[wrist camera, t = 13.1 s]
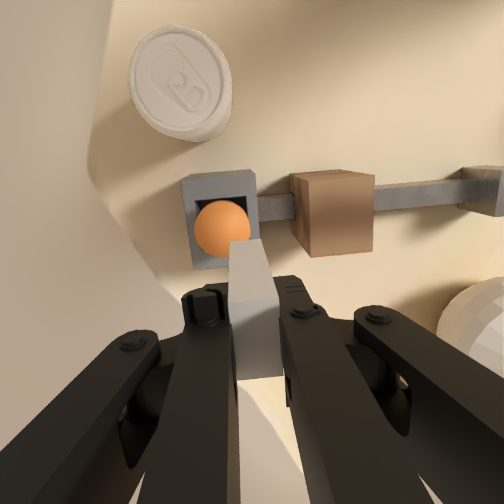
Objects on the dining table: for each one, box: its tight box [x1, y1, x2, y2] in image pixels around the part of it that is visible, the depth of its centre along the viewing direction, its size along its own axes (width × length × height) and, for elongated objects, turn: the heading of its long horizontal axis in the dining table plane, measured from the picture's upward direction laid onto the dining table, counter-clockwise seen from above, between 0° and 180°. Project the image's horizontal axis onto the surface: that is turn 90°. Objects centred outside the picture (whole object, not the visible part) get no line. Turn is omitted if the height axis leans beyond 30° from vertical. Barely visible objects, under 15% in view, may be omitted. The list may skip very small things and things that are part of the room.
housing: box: [181, 169, 260, 270], centre depth 36 cm, size 9×7×8 cm
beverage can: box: [129, 25, 232, 142], centre depth 30 cm, size 8×8×12 cm
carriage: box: [289, 169, 375, 258], centre depth 35 cm, size 7×6×10 cm
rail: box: [257, 165, 504, 222], centre depth 37 cm, size 5×29×6 cm, turn 95°
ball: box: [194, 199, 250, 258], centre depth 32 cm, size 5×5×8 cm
